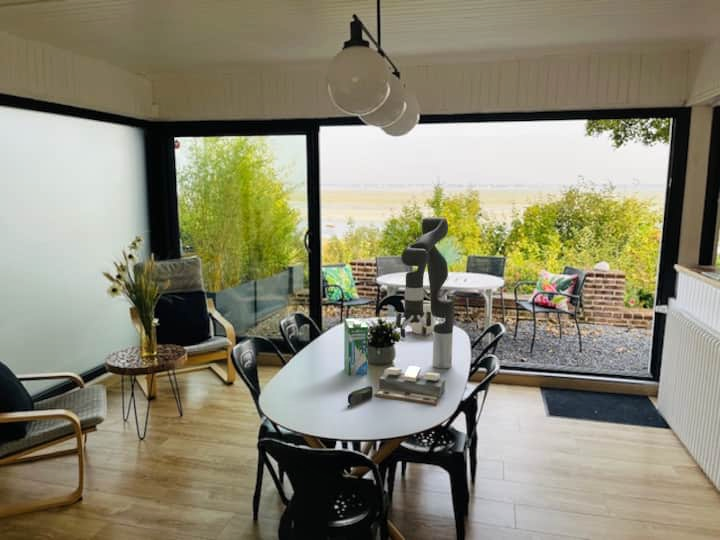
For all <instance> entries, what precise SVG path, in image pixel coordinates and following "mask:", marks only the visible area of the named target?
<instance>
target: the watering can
mask: <svg viewBox="0 0 720 540" xmlns="http://www.w3.org/2000/svg"><path fill="white" fill-rule="evenodd" d="M400 301H401V303H402V305H403V309H404V310H405V299H401V300H400ZM426 311H429V312H431V304H430V300H423V312H426ZM422 320H423V321H424V323H426V316H425V315H424V316H423V317H422ZM436 321H437V317H434V316H433V315H432V313H431V326H428V327H427V328H426V335H431V334H432V333H433V332H434V325H436V323H437V322H436ZM439 323H443V318H439V321H438V323H437V324H439ZM407 326H409V328H411V330H412V332H413V333H415V334H417V335H422V325H421V323H420V322H418V323H415V322H414V323H410V322H409V324H408V325H407Z"/></svg>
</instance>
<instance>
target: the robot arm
mask: <svg viewBox="0 0 720 540" xmlns="http://www.w3.org/2000/svg"><path fill="white" fill-rule="evenodd" d="M448 231H449V224H448V220H447V219H446V218H444V217H441V216H439V217H431V216H430V217H425V218H423V219H422V222H421V232H422V235H420V236H419V237H418V238H417V239H416V241H415V242H414V243H411V244H410V245H408V246H407V247H405V248H404V250H402V252H401V257H400V258H401V262H402V263H403V264H404V265H405V266H409V267H417V269H416V270H413V271H408V272H407V273H406V274H405V289H404V301H405V309H404V311H403V312H399V311H397V312H396V317H395V318H396V320H395V327H396V328H397V329H400V331H399V332H400V336H401V338H403V339H405V338H406V329H405V328H406V327H407V326H408V324H409V322H410V323H414V322H415V323H418V322H420V323H421V325H422V334H421V337H422V338H423V337H424V338H425V337H426V335H427V334H426V328H427V327H428V326H431V313H432V315H433V316H434V317H436V318H438V319H440V318H442V319H444V321H442V323H439V322H438V323H439V324H438V323H437V324H436V323H435V325H434V331H433V332H432V333H433V335H432V337H433V338H432V339H433V341H432V366H433V367H434V368H437V369H449V368H452V361H453V359H452V358H453V337H454V336H453V335H454V333H453V331H454V330H453V329H454V322H455V321H454V319H455V312H456V311H455V307H456V305H455V302H454V300H453V299H446V298H440V291H441V288H442V287H443V285H444V284H445V283H446V281H447V279H448V276H449V269H448V261H447V260H446V257H444V254H443V253H442V252H440V250H439V249H438V248H437V246H436V244H438V243H439V242H440V241H441V240H442V241H443V239H445V238H446V236H447V234H448ZM426 268H427V275H428V283H429V294H430V295H429V296H430V298H429V299H430V300H429V301H430V304H431V312H429V311H426V312H423V301H424V297H425V296H424V295H425V294H424V293H425V292H424V277H425V272H426ZM424 315H425V316H426V323H424V321H423V320H422V317H423V316H424ZM403 317H404V319H403V320H402V318H403Z"/></svg>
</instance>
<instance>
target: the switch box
mask: <svg viewBox="0 0 720 540" xmlns="http://www.w3.org/2000/svg"><path fill="white" fill-rule="evenodd" d="M405 373H406V372H401V373H399V375H392V374H386V373H384V372H383V374H382V375H381V376H380V377H379V385H378V386H379V388H378V389H377V390H376V391H375V392H374V397H379V398H386V399H392V400H399V401H406V402H411V403H418V404H424V405H429V406H437V405H438V403H439V401H440V399H441V398H442V396H443V395H444V393H445V389H446V386H445V385H446V379H445V378H441V377H440V378H439V379H438V380H437V381H435V380H427V379H424V375H420V374H419V375H418V378H417V379H416V381H408V380H404V375H405Z"/></svg>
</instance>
